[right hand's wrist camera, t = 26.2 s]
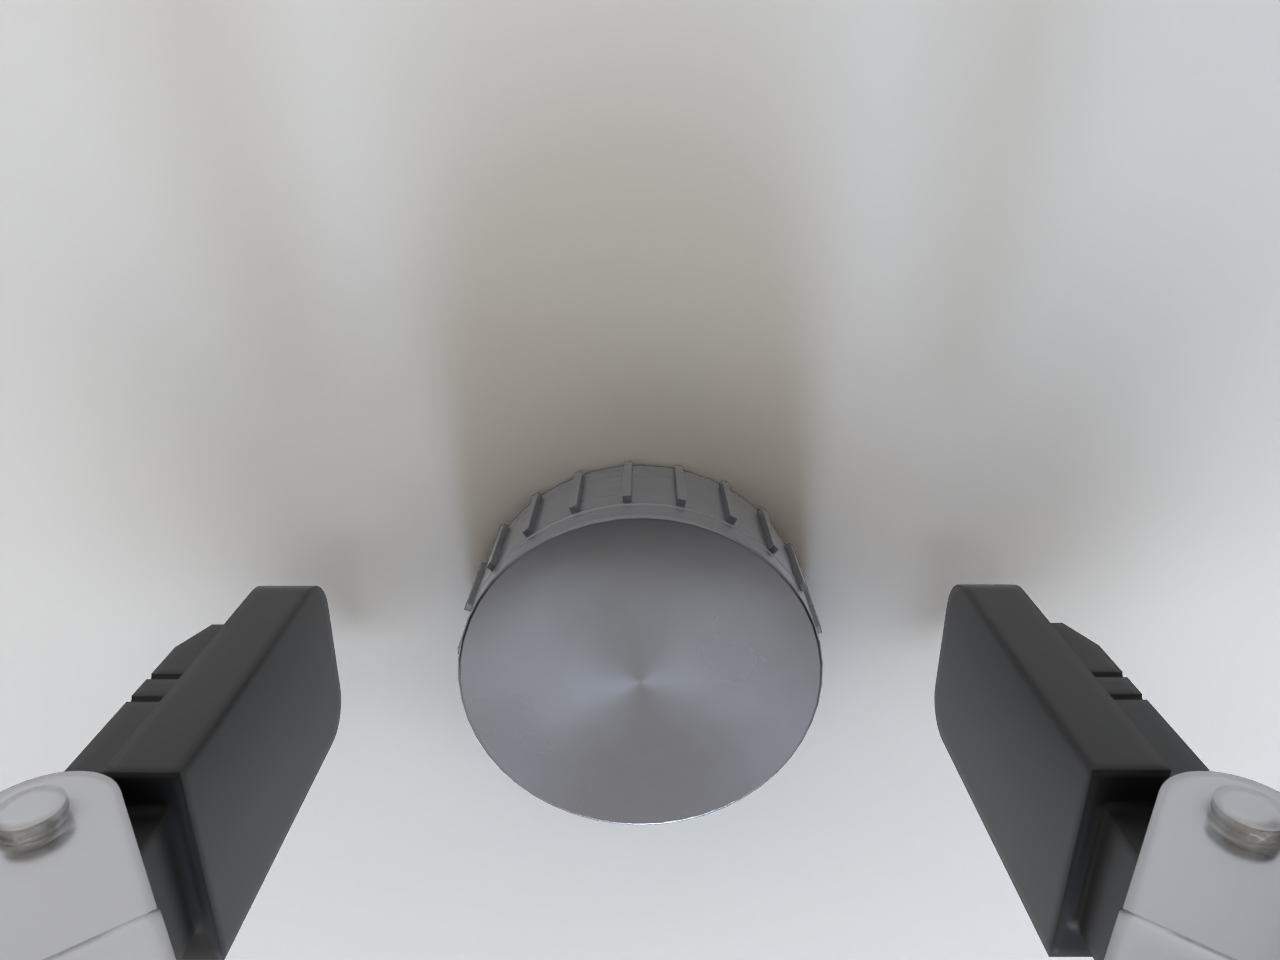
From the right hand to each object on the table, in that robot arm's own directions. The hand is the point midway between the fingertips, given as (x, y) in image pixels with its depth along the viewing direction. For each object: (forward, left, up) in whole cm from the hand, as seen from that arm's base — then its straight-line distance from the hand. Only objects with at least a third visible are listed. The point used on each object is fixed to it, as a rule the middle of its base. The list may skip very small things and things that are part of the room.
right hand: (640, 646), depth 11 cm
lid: (0, 0, 0) cm, 0 cm away
